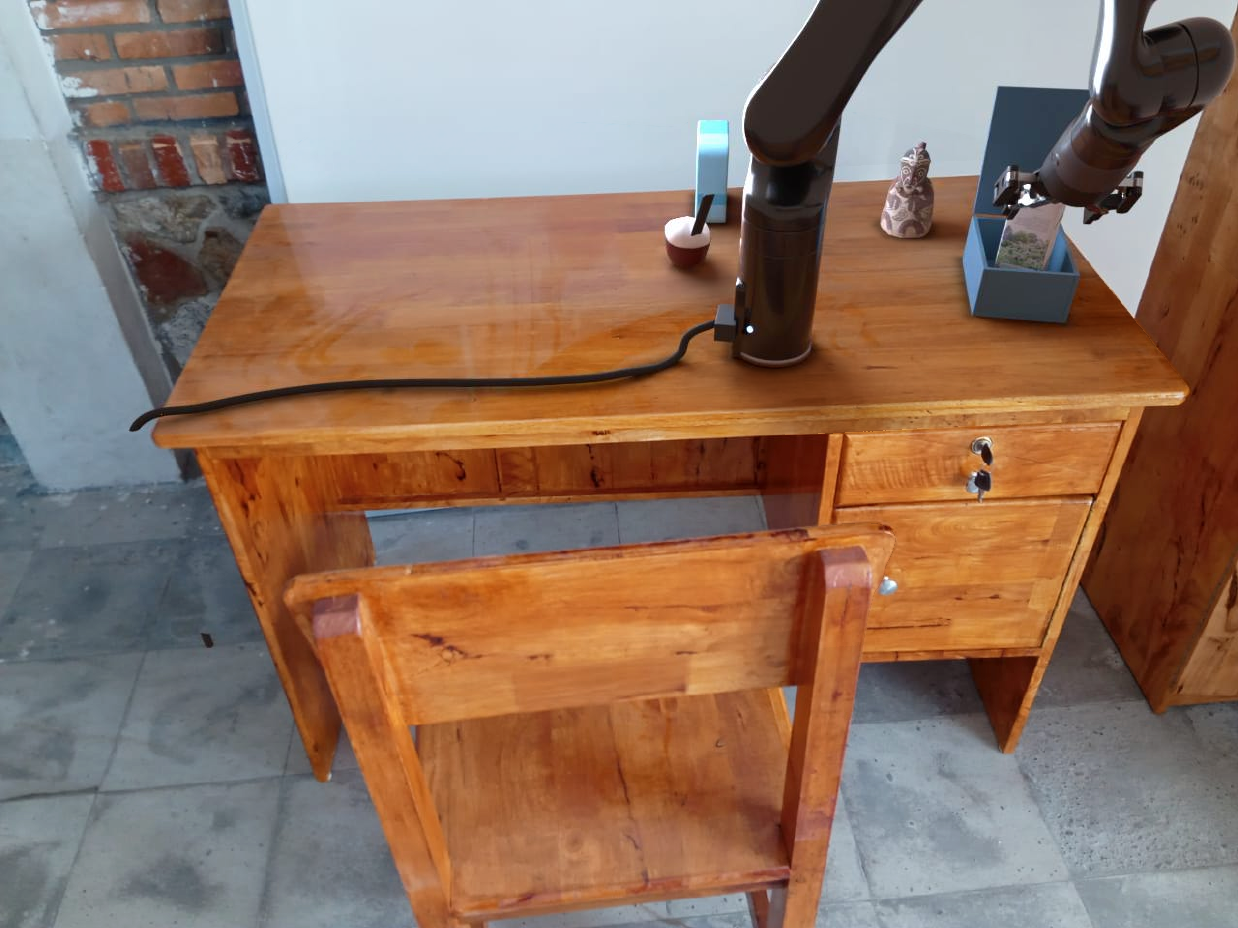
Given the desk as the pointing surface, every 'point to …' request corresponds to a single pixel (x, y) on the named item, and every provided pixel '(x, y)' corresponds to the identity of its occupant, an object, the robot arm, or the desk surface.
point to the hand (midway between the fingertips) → (1047, 214)
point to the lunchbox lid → (1024, 133)
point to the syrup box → (1030, 237)
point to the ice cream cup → (689, 237)
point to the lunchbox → (1017, 278)
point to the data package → (712, 167)
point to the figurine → (910, 197)
